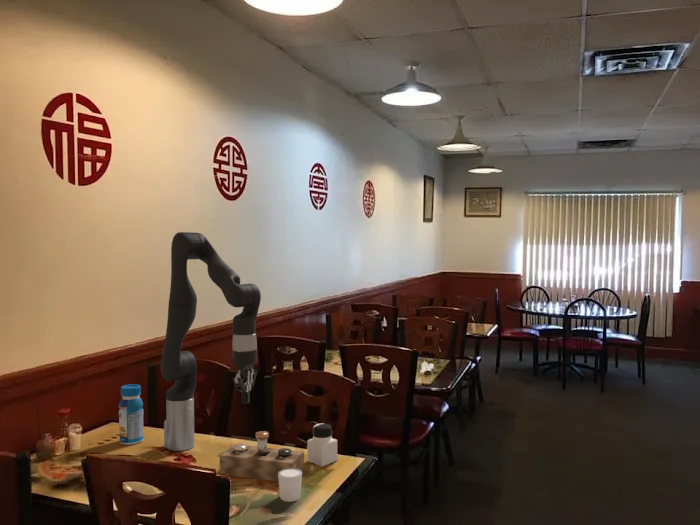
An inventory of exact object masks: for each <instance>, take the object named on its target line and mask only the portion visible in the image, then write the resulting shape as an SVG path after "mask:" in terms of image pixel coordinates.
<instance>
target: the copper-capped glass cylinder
mask: <svg viewBox="0 0 700 525" xmlns="http://www.w3.org/2000/svg"><path fill="white" fill-rule="evenodd" d="M269 434H270V433H269V431H266V430H263V431H262V430H260V431H257V432H255V438H256V442H257V444H256V445H257V446H256V447H257V456H267V448H268V438H269V436H270V435H269Z"/></svg>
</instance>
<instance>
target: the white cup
mask: <svg viewBox="0 0 700 525" xmlns="http://www.w3.org/2000/svg"><path fill="white" fill-rule="evenodd" d="M278 479H279V482H278V487H279V489H278V490H279V498H280V500H281V501H283V502H289V503H290V502H296V501H299V500H300V499H301V494H302V492H301V491H302V481H303V472H302V471H301V470H298V469H284V470H281V471H280V472H278Z"/></svg>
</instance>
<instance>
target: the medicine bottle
mask: <svg viewBox="0 0 700 525" xmlns="http://www.w3.org/2000/svg"><path fill="white" fill-rule="evenodd" d="M332 427H333V426H332V425H330V424H329V423H317V424H315V425H314V426H313V427H312V435H313V436H312V438H309V439H308V440H307V446H306V447H307V449H306V450H307V453H306V454H307V462H309V463H312V464H313V463H314V465H316V466H319V467H321V466H322V468H323V467H326V466H329V465H331V464H333V463H336V462H338V439H336V438H333V436H332V435H333V434H332V433H333V431H332ZM335 461H336V462H335ZM332 462H333V463H332ZM330 463H331V464H330ZM325 465H326V466H325Z"/></svg>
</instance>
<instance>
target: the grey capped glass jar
mask: <svg viewBox="0 0 700 525" xmlns="http://www.w3.org/2000/svg"><path fill="white" fill-rule="evenodd" d="M278 449H279V450H278V456H280V458H284V459H289V458H290V455H291V450H292V449H291V448H288V447H287V448H286V447H284V448H278Z"/></svg>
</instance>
